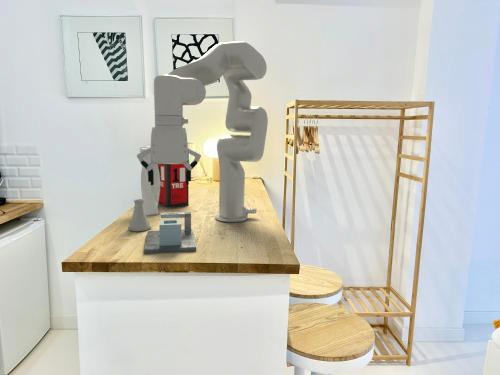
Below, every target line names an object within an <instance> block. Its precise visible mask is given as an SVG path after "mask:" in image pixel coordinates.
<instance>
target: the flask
mask: <svg viewBox="0 0 500 375" xmlns="http://www.w3.org/2000/svg"><path fill="white" fill-rule="evenodd" d="M133 202H134V208H133V213H132V216H131V219H130V222H129V224H128V227H127V229H128V230H129V231H133V232H143V231H149V230H150V229H152V226H151V224H150V221H149V219H148V217H147V216H148V215H146V214H145V211H144V206H143V202H144V200H143V199H142V198H137V199H133Z"/></svg>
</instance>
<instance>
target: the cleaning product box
mask: <svg viewBox="0 0 500 375" xmlns="http://www.w3.org/2000/svg"><path fill="white" fill-rule="evenodd" d="M187 162H188V163H189V160H188V161H187ZM157 165H158V169H159V174H160V194H159V202H158V205H161V206H163V207H165V208H169V209H173V208H181V207H188V206H189V205H190V204H189V202H190V201H189V200H190V199H189V198H190V195H189V185H187V184H186V167H185V165H184V164H157Z"/></svg>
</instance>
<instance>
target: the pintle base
mask: <svg viewBox="0 0 500 375" xmlns="http://www.w3.org/2000/svg"><path fill="white" fill-rule="evenodd" d="M160 213H161V214H160V218H161V219H181V218H183V219H184V227H183V229H181V239H182V245H168V246H160V232H159V230H147V232H146V238H145V244H144V248H143V254H144V255H147V254H166V253H167V254H168V253H187V252H189V253H190V252H197V244H196V240H195V236H194V231H193V228H192V212H191V211H184V212H183V211H180V212H179V211H178V212H177V211H176V212H175V211H174V212H172V211H171V212H160Z"/></svg>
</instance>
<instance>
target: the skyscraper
mask: <svg viewBox="0 0 500 375" xmlns="http://www.w3.org/2000/svg"><path fill="white" fill-rule="evenodd" d="M150 146H151V143H150V144H149V145H148V146H147V145H146V146H141V147H140V148H139V153H141V152H143V151H145V150H147V149H149V148H151V147H150ZM143 158H144V160H145V161H146V162H147V163H148V164H150V163H151V162H152V161H151V156H150V153H149V154H147V155H146V156H144V157H143ZM153 170H154V185H151V182H148V170H147V169H146V168H145V167H144V166H143V165H141V171H140V172H141V173H140V192H141V199H143V200H144V202H143V207H144V211H145V214H146V216H153V215H161V214H160V213H161V212H160V211H159V209H158V206H159V204H158V202H159V194H160V174H159V169H158V165H157V164H155V166H154V167H153Z"/></svg>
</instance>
